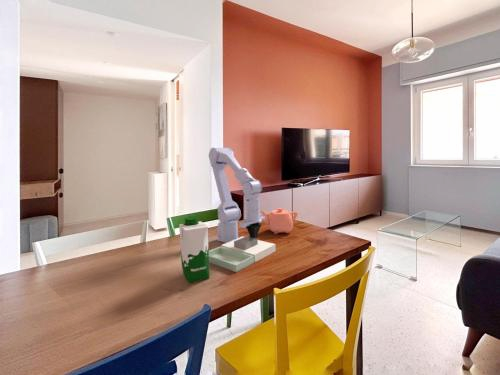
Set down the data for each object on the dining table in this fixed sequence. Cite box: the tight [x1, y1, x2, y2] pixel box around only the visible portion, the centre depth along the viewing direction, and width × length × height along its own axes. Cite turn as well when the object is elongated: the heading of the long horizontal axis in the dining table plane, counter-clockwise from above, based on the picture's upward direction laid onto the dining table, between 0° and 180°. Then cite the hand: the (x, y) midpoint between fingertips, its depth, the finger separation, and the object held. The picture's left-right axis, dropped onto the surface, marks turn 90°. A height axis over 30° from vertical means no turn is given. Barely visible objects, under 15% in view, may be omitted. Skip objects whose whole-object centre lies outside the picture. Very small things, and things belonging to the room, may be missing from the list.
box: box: [208, 246, 255, 273], centre depth 103 cm, size 18×10×3 cm, turn 51°
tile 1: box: [234, 239, 252, 250], centre depth 110 cm, size 6×4×2 cm, turn 52°
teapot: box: [260, 207, 299, 235], centre depth 139 cm, size 13×20×12 cm, turn 97°
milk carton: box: [178, 216, 210, 284], centre depth 90 cm, size 9×9×20 cm
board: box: [221, 236, 277, 263], centre depth 113 cm, size 18×14×3 cm
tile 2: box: [241, 235, 259, 247], centre depth 113 cm, size 6×4×2 cm, turn 52°
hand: (253, 240), depth 115 cm, fingers closed
